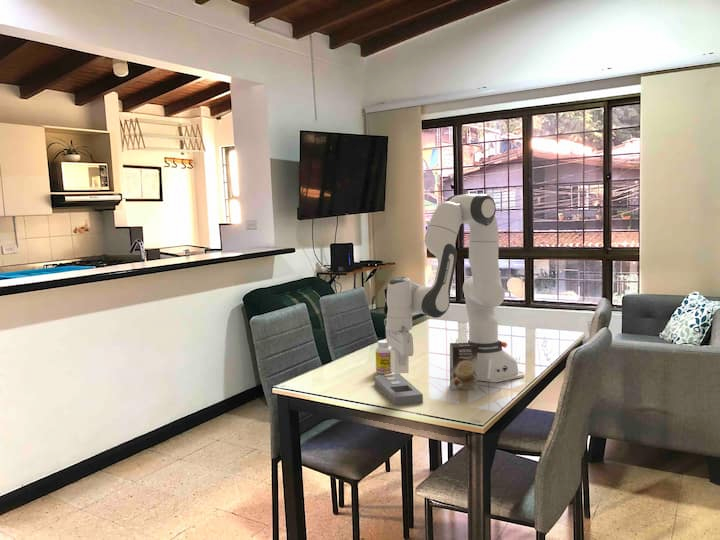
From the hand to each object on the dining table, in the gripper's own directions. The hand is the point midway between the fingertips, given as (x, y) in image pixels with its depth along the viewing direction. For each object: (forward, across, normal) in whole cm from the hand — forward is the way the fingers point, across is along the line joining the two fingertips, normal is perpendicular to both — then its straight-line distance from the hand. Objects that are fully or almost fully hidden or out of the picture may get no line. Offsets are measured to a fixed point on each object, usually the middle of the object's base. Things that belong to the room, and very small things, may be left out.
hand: (399, 362), depth 200 cm
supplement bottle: (+13, +32, -4) cm, 35 cm away
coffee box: (+12, +3, -26) cm, 29 cm away
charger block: (+3, 0, 0) cm, 3 cm away
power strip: (+12, +5, -1) cm, 13 cm away
